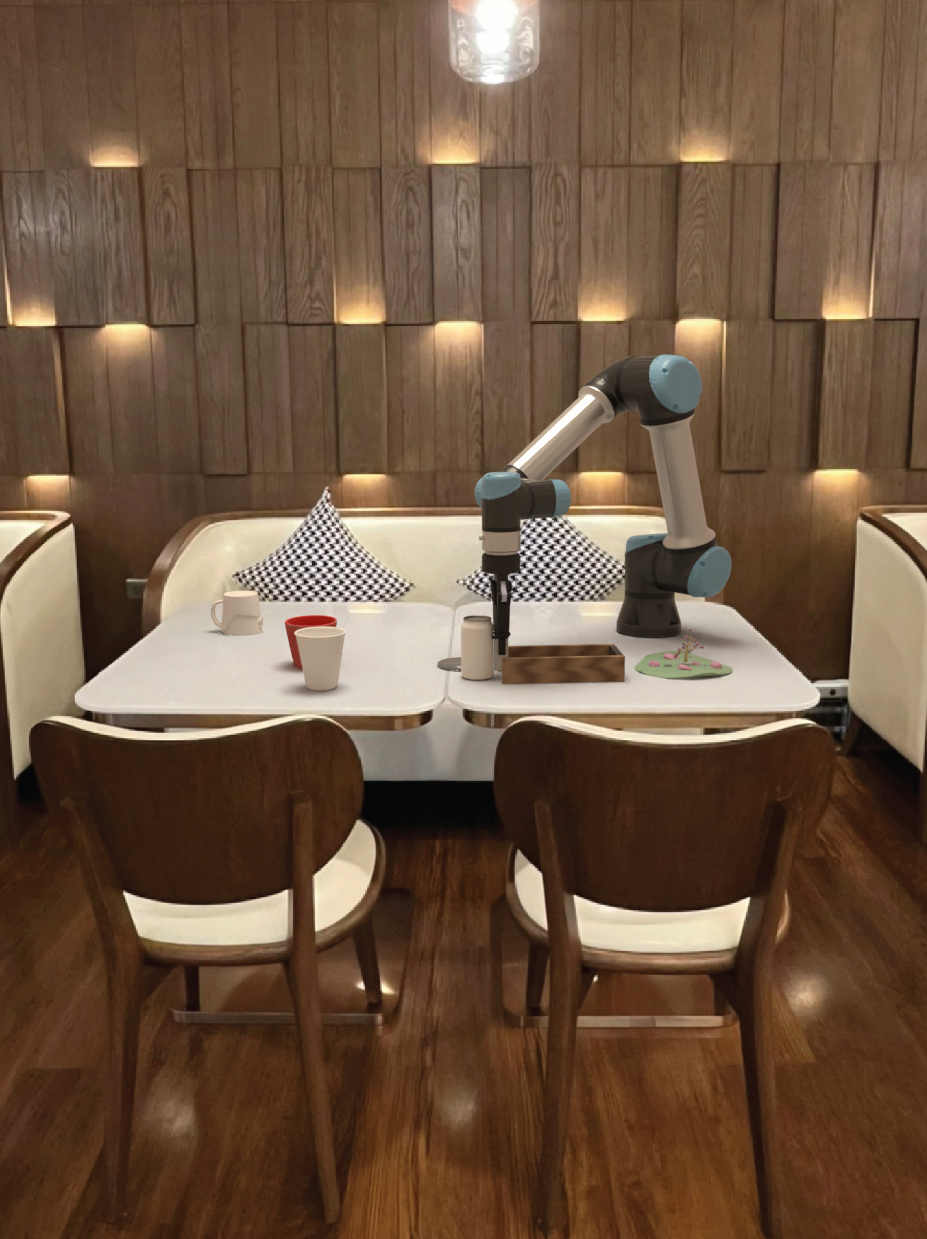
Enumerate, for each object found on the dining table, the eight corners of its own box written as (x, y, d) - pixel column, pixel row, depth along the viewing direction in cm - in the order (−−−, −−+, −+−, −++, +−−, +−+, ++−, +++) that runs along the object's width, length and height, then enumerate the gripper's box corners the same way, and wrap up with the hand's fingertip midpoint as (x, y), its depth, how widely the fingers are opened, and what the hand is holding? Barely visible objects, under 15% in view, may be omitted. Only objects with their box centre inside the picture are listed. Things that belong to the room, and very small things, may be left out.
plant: (614, 656, 249) (615, 615, 247) (705, 652, 252) (706, 611, 250) (650, 684, 225) (651, 639, 223) (750, 680, 228) (752, 635, 226)
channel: (613, 667, 236) (613, 643, 235) (624, 681, 225) (624, 656, 224) (497, 669, 235) (497, 646, 234) (502, 684, 224) (502, 659, 223)
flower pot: (297, 674, 233) (295, 627, 231) (279, 663, 242) (277, 617, 240) (345, 668, 237) (344, 622, 236) (326, 657, 247) (325, 612, 245)
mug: (264, 590, 275) (256, 596, 267) (266, 628, 276) (258, 636, 269) (215, 590, 275) (205, 596, 267) (216, 628, 277) (207, 635, 269)
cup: (297, 681, 227) (295, 626, 225) (348, 680, 228) (346, 625, 225) (294, 694, 217) (292, 637, 215) (347, 693, 218) (345, 636, 216)
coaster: (483, 659, 244) (483, 656, 244) (487, 670, 234) (487, 668, 234) (436, 660, 243) (436, 657, 243) (438, 671, 234) (438, 669, 233)
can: (487, 682, 225) (487, 622, 223) (456, 679, 228) (456, 620, 225) (498, 674, 231) (498, 615, 229) (467, 671, 233) (467, 613, 231)
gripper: (479, 547, 230) (479, 662, 235) (484, 557, 218) (485, 678, 222) (516, 547, 231) (516, 661, 236) (524, 556, 218) (523, 677, 223)
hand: (501, 669), depth 229 cm, fingers closed
